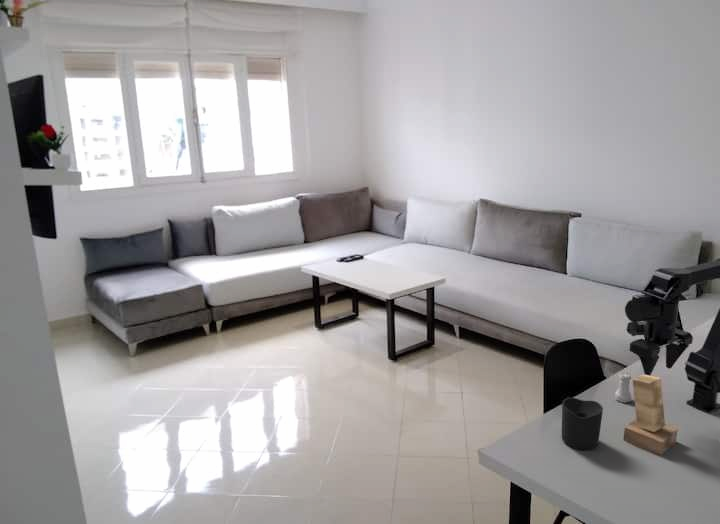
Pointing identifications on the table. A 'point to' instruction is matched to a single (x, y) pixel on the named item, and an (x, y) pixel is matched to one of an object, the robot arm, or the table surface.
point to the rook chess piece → (623, 388)
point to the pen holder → (581, 423)
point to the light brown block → (650, 437)
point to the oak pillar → (649, 402)
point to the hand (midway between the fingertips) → (658, 372)
